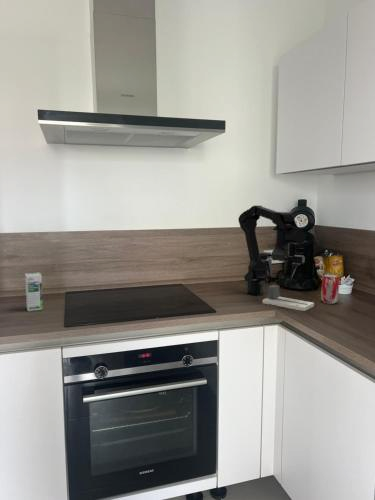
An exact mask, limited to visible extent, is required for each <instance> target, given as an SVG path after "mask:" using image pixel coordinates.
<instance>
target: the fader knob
mask: <svg viewBox="0 0 375 500" xmlns="http://www.w3.org/2000/svg"><path fill="white" fill-rule="evenodd" d="M278 297H280V285H278V284H277V285H276V284H272V285H269V286H267V298H271V299H275V298H278Z"/></svg>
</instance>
